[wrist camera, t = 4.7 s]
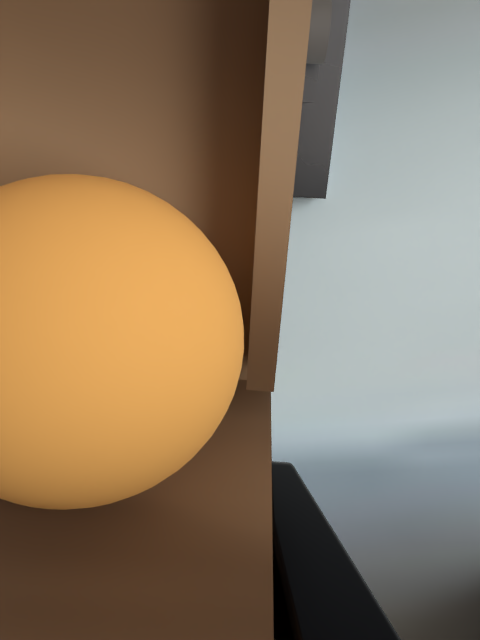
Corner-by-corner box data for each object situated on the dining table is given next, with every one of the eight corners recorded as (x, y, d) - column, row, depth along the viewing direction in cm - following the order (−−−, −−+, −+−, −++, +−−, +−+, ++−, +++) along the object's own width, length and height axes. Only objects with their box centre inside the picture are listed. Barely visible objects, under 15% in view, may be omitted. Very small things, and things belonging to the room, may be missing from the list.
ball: (242, 404, 7) (226, 613, 4) (28, 390, 7) (-166, 584, 4) (255, 176, 6) (248, 200, 3) (-3, 162, 6) (-318, 168, 3)
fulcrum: (323, 194, 9) (340, 220, 7) (21, 178, 9) (-47, 199, 7) (361, -125, 7) (401, -218, 5) (-31, -138, 7) (-149, -235, 5)
